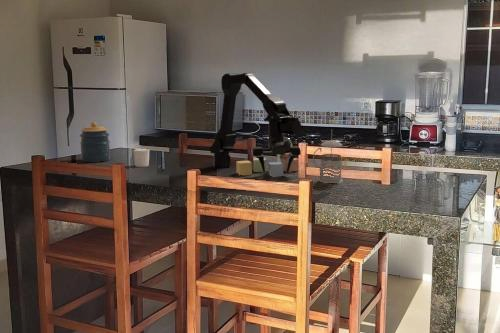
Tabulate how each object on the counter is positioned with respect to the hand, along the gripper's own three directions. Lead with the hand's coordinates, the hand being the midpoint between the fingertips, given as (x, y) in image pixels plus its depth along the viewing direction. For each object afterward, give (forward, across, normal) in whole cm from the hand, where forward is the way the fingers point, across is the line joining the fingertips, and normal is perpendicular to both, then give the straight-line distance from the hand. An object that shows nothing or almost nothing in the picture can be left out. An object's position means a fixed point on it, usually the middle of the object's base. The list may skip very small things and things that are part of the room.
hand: (275, 172), depth 219 cm
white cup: (+1, -54, +29) cm, 61 cm away
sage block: (+1, -5, +11) cm, 12 cm away
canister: (+1, -76, +45) cm, 88 cm away
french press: (+1, +18, -12) cm, 22 cm away
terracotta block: (+1, +8, +9) cm, 12 cm away
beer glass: (-1, +7, +20) cm, 21 cm away
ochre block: (+1, -12, +5) cm, 13 cm away
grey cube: (+1, 0, 0) cm, 1 cm away
